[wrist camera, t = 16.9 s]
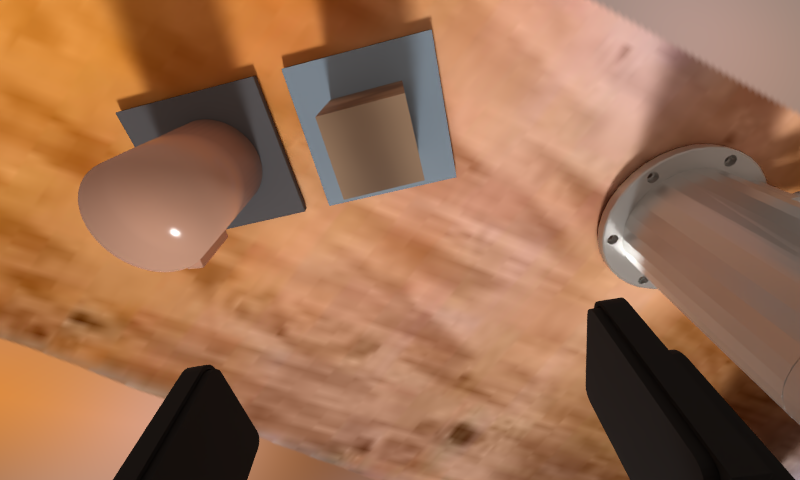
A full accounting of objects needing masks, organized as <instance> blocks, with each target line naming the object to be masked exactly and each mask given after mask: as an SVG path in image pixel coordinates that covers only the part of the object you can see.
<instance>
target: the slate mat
mask: <svg viewBox="0 0 800 480" xmlns="http://www.w3.org/2000/svg"><path fill="white" fill-rule="evenodd" d="M282 72H283V75H284V78H285V80H286V83H287V86H288V89H289V92H290V95H291V97H292V100H293V103H294V106H295V109H296V112H297V115H298V117H299V120H300V123H301V126H302V129H303V132H304V135H305V137H306V140H307V143H308V146H309V149H310V152H311V155H312V157H313V160H314V163H315V166H316V169H317V172H318V175H319V177H320V180H321V183H322V186H323V189H324V192H325V195H326V197H327V200H328V203H329V206H331V205H335V204H340V203H344V202H349V201H353V200H357V199H362V198H366V197H371V196H375V195H380V194H384V193H388V192H393V191H397V190H402V189H406V188H411V187H415V186H419V185H424V184H428V183H433V182H437V181H441V180H446V179H450V178H455V177H456V172H455V166H454V160H453V154H452V148H451V142H450V136H449V130H448V124H447V118H446V113H445V107H444V101H443V95H442V89H441V83H440V77H439V71H438V65H437V59H436V53H435V47H434V41H433V35H432V30H427V31H423V32H420V33H416V34H412V35H408V36H404V37H401V38H397V39H393V40H389V41H385V42H382V43H378V44H374V45H370V46H366V47H363V48H359V49H355V50H351V51H347V52H344V53H340V54H336V55H332V56H328V57H325V58H321V59H317V60H313V61H310V62H306V63H302V64H298V65H294V66H291V67H287V68H283V69H282ZM401 80H402V82H403V87H404V91H405V96H406V100H407V104H408V109H409V113H410V117H411V122H412V126H413V131H414V135H415V139H416V144H417V148H418V152H419V157H420V161H421V166H422V170H423V175H424V179H425V180H424V181H420V182H416V183H412V184H407V185H403V186H399V187H395V188H391V189H387V190H383V191H379V192H374V193H370V194H366V195H362V196H358V197H354V198H350V199H346V200H344V199H343V196H342V193H341V190H340V187H339V184H338V182H337V179H336V176H335V173H334V170H333V167H332V164H331V161H330V158H329V156H328V153H327V150H326V147H325V144H324V141H323V138H322V135H321V132H320V130H319V127H318V124H317V121H316V118H315V117H316V115H317V114H318V113H319V112H320V111H321V110H322V109H323V108H324V106H325V105H326V104H327V103H328V102H329V101H330V100H331V99H335V98H339V97H342V96H346V95H350V94H353V93H357V92H361V91H364V90H368V89H372V88H376V87H379V86H383V85H387V84H390V83H394V82H398V81H401Z"/></svg>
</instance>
